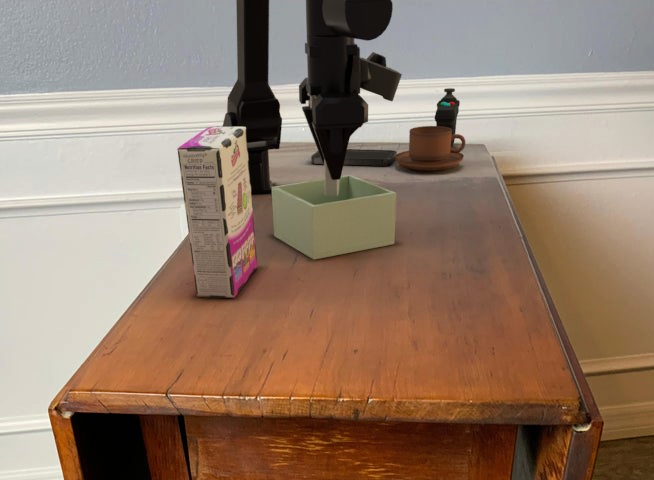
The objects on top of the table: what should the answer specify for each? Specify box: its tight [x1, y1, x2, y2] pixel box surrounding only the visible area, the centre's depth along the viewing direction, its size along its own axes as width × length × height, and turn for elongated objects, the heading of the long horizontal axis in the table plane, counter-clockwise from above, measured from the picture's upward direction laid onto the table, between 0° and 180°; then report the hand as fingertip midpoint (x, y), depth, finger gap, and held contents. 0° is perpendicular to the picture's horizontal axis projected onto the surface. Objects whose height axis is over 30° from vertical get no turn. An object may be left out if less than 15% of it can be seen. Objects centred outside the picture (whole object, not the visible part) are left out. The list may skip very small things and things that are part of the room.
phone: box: [310, 148, 398, 167], centre depth 148 cm, size 8×1×15 cm
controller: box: [434, 87, 461, 148], centre depth 151 cm, size 4×12×10 cm, turn 168°
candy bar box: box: [176, 125, 258, 299], centre depth 91 cm, size 11×5×16 cm, turn 168°
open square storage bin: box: [271, 174, 397, 261], centre depth 107 cm, size 12×12×7 cm
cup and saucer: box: [395, 125, 466, 172], centre depth 140 cm, size 12×12×6 cm
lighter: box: [323, 159, 339, 196], centre depth 102 cm, size 7×2×8 cm, turn 176°
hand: (331, 172), depth 103 cm, fingers closed on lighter, 7 cm apart
